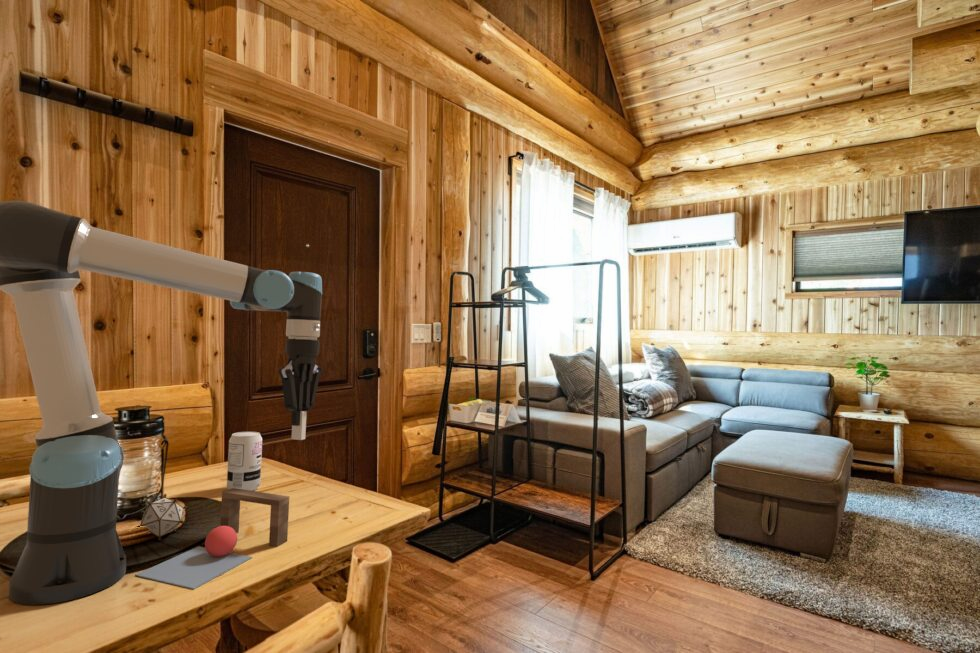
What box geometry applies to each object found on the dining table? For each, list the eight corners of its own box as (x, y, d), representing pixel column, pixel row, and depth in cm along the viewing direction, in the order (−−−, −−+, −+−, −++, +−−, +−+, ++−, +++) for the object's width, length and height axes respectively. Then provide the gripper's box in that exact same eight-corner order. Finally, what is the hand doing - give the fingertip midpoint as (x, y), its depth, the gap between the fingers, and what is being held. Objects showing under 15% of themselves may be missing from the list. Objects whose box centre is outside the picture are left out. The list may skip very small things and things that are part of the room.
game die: (171, 553, 106) (201, 516, 106) (128, 550, 99) (160, 511, 99) (164, 521, 112) (192, 486, 111) (123, 517, 105) (153, 480, 105)
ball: (247, 538, 100) (229, 564, 96) (224, 534, 102) (206, 560, 97) (236, 522, 97) (217, 548, 93) (212, 517, 98) (193, 543, 94)
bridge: (277, 546, 102) (279, 500, 102) (219, 535, 106) (222, 491, 107) (287, 541, 105) (289, 496, 105) (231, 530, 109) (233, 487, 109)
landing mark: (193, 589, 84) (193, 588, 84) (135, 575, 88) (135, 574, 88) (251, 558, 97) (252, 556, 97) (198, 547, 100) (198, 546, 100)
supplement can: (227, 486, 140) (229, 431, 141) (259, 483, 144) (262, 430, 144) (225, 494, 133) (228, 437, 133) (260, 491, 137) (262, 436, 137)
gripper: (298, 338, 112) (293, 445, 111) (333, 339, 124) (328, 435, 124) (270, 337, 114) (265, 442, 113) (307, 338, 126) (302, 433, 126)
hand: (298, 438), depth 119 cm, fingers closed
